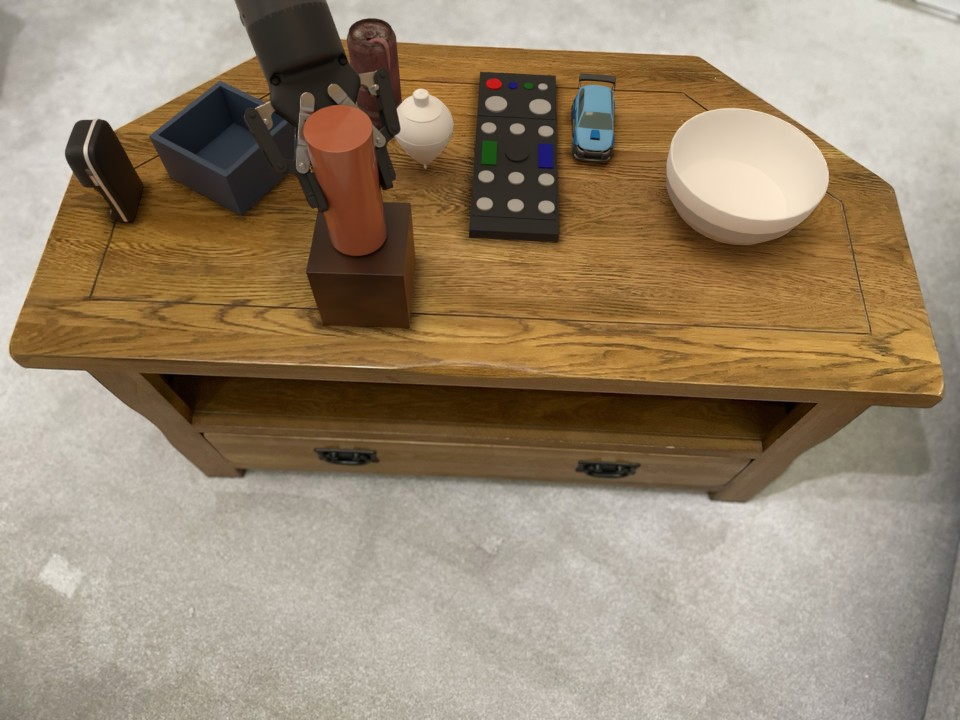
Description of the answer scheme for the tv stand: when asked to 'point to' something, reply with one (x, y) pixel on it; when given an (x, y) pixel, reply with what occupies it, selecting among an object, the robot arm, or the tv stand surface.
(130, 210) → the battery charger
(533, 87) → the remote control
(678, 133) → the bowl
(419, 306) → the tv stand surface
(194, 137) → the tub
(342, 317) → the stand
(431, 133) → the spinning top
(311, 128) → the orange cylinder rod
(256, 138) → the robot arm
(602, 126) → the toy car
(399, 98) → the can
